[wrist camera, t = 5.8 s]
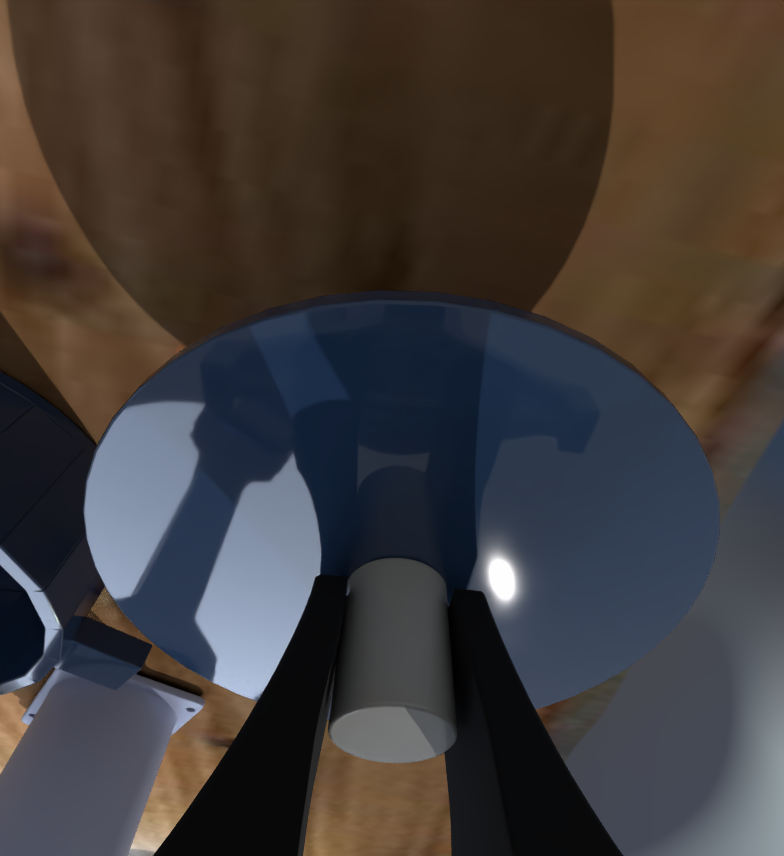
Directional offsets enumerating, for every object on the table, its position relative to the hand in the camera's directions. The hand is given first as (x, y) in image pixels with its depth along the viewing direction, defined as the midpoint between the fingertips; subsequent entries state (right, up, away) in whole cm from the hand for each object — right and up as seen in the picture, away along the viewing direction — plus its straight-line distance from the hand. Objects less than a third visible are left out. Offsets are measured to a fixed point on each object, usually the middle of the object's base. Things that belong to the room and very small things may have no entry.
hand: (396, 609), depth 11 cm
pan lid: (0, +1, +1) cm, 1 cm away
